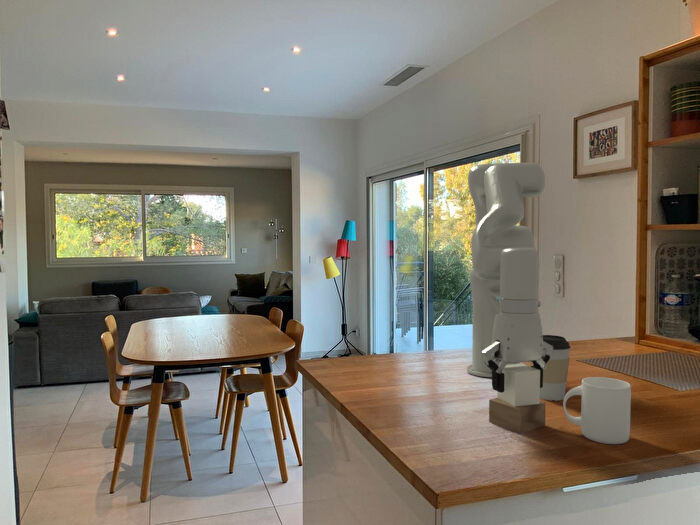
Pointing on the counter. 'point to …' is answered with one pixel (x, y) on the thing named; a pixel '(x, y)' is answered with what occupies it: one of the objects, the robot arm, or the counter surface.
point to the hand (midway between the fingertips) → (517, 388)
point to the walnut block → (516, 415)
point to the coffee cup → (555, 369)
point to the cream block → (520, 385)
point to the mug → (603, 409)
